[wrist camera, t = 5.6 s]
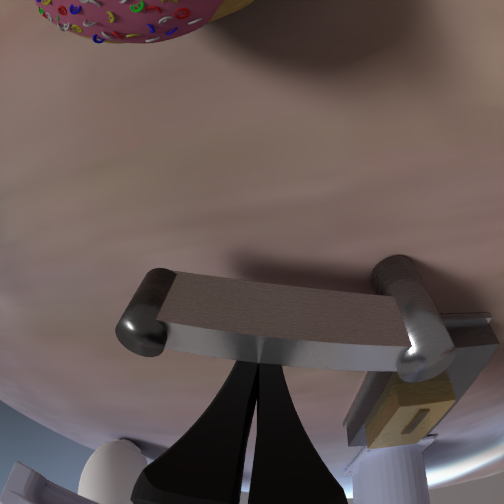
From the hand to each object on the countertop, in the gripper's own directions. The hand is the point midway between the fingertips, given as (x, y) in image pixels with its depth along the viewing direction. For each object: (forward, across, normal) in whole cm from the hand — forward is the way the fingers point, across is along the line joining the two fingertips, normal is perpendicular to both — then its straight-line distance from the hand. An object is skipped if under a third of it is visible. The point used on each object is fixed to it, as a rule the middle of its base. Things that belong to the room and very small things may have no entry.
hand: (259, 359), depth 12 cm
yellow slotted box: (+2, -10, +7) cm, 12 cm away
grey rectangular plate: (+4, -11, +7) cm, 14 cm away
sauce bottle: (+5, +15, +25) cm, 30 cm away
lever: (+4, -1, -2) cm, 5 cm away
